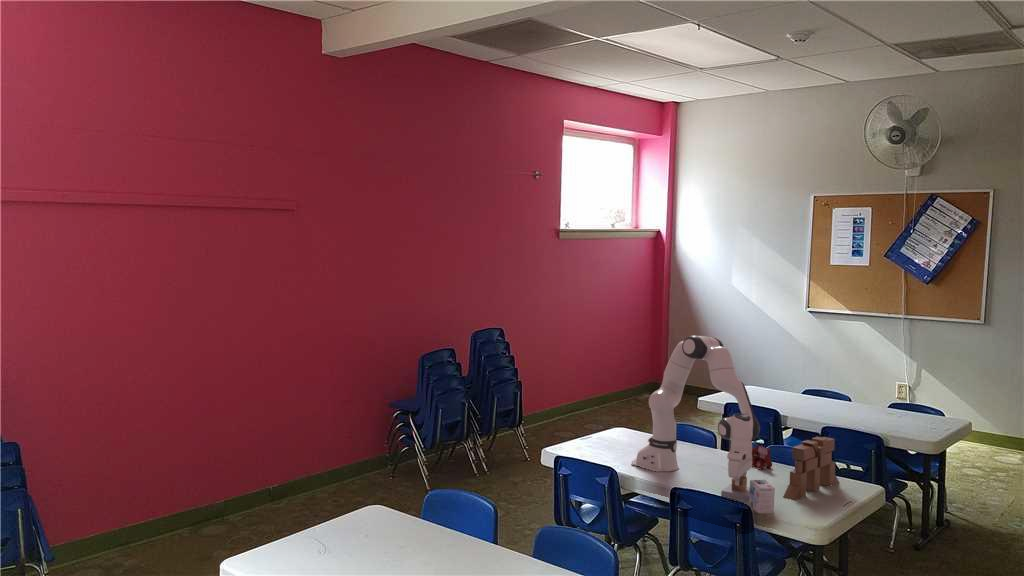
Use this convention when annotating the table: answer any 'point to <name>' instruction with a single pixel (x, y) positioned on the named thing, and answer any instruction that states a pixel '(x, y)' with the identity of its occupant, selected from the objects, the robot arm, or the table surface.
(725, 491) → the stand
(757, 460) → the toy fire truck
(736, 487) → the walnut cube
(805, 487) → the wooden robot
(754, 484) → the light bulb box
